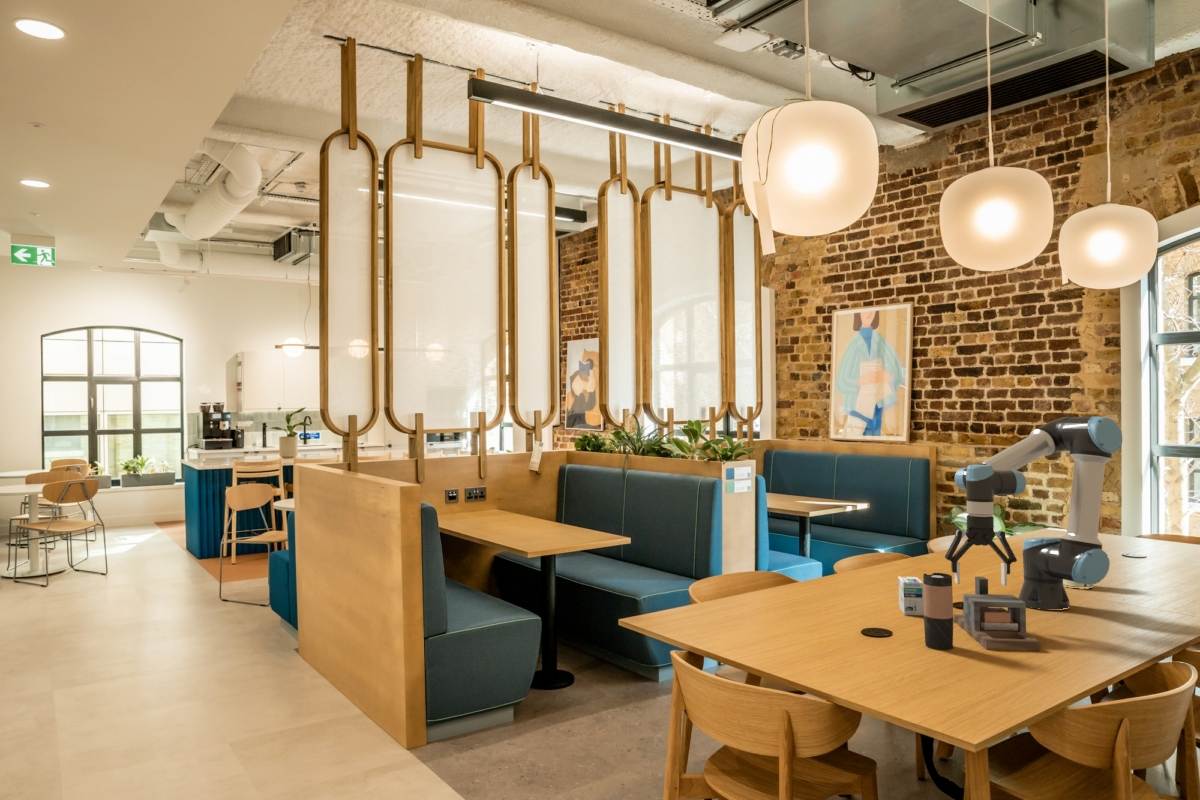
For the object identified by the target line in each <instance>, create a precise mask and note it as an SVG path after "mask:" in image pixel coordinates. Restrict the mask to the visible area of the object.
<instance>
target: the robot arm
mask: <svg viewBox="0 0 1200 800" xmlns="http://www.w3.org/2000/svg"><path fill="white" fill-rule="evenodd" d="M1122 444H1123V433H1122V430H1121V428H1120V426H1118V423H1117V422H1116V421H1115V420H1114V419H1112V418H1110V417H1107V416H1098V415H1097V416H1095V415H1093V416H1065V417H1064V416H1063V417H1060V418H1056V419H1054V420H1052V421H1051V420H1050V421H1049V422H1047V423H1044V424H1043V425H1041V426H1039V427H1037V428H1035V429H1033V430H1032V431H1031V432H1030V433H1029V436H1027V437H1025V438H1024V439H1022V440H1020V441H1018V442H1015V443H1014V444H1013V445H1011V446H1009V447H1007V448H1005V449H1003V450H1002V451H1000V452H998V453H996V454H994V455H993V456H990V457H989V458H987V459H986V460H984V461H982V462H979V463H978V464H968V466H966V467H962V468H959V469H958V470H957V471H956V472H955V475H954V483H955V486H956V487H957V488H958V489H959V490H962V491H966V493H965V494H966V513H967V514H968V515H966V530H960V529H956V530H955V534H954V538H953V540H952V542H951V544H950V545H949V547H948V550H947V552H946V553H945V555H944V558H945V560H947V561H949V562H950V563H951V565H950V567H951V569H950V570H951V572H952V573H953V574H954V584H957V585H960V584H961V563H960V562H959V560H960V559H961V558H962V557H963V556H964V555H965V554H966V553H967V551H969V549H970V548H972V546H983V547H986V546H990V548H991V549H992V551H994V553H996V554H997V556H998V557H999V558H1000V559H1001V560H1002V561H1003V562H1000V570H1001V571H1000V577H1001V579H1000V582H1001V583H1000V584H1001V585H1002V586H1004V587H1006V586H1008V575H1010V574H1011V565H1012V563H1016V562H1018V560H1017V557H1016V555H1015V554H1014V551H1013V550H1012V548H1011V546H1010V544H1009V542H1008V540H1007V538H1006V533H1005V532H1004V531H1003V530H998V531H995V530H994V529H995V526H994V521H995V520H994V516H993V515H994V514H995V513H994V497H995V496H1015V495H1020V494H1022V493H1024V491H1025V490H1026V487H1027V479H1026V477H1025V475H1024V474H1023V473H1022V472H1020V471H1018V469H1020V468H1022V467H1025V466H1026V465H1028V464H1030V463H1031V462H1033V461H1035V460H1037V459H1039V458H1040V457H1042V456H1051V455H1052V454H1054V453H1058V452H1069V456H1070V457H1071V458H1072V459H1073V470H1072V471H1073V472H1072V481H1071V487H1070V488H1071V489H1070V490H1071V491H1070V499H1069V507H1068V509H1069V510H1068V518H1067V528H1066V533H1065V534H1064V535H1062V536H1061V537H1058V536H1055V537H1053V536H1050V537H1049V536H1043V537H1042V536H1041V537H1028V538H1025V539H1024V541H1023V543H1022V544H1023V545H1022V546H1023V547H1022V560H1023V563H1022V564H1023V582H1022V585H1021V587H1020V588H1021V589H1020V592H1019V594H1018V598H1019V599H1020V600H1022V601H1024V602H1025V603H1026V606H1027V607H1026V608H1029V607H1032V608H1031V609H1033V608H1040V609H1063V608H1068V607H1069V606H1070V607H1071V604H1070V599H1069V596H1068V594H1067V591H1066V588H1065V587H1064V585H1063V579H1064V580H1069V581H1073V582H1077V583H1081V584H1093V585H1096V584H1098V583H1100V582H1102V580H1104V579H1105V578H1106V576H1107V575H1108V572H1109V570H1110V558H1109V557H1108V554H1107V552H1106V551H1104V550H1103V543H1102V542H1101V541H1100V540H1099V538H1098V536H1099V525H1100V517H1101V509H1102V508H1101V507H1102V499H1103V487H1104V480H1105V479H1104V477H1105V468H1106V465H1107V464H1108V462H1110V461H1112V455H1113V454H1115V453H1117V452H1118V451H1119V449H1121V447H1122ZM965 536H966V537H967V539H966V541H964V543H963V545H962V546H961V547H960V548H958V547H959V544H960V542H961V540H962V539H963V538H964V537H965ZM995 537H996V538H997V539H999V542H1000V544H1001V546H1002V547H1003V549H1004V551H1005V553H1006V554H1007V555H1006V554H1005V553H1004V552H1003V551H1002V550H1001V548H999V547H998V545H997V544H996V542H995V541H994V540H993V539H994V538H995ZM957 549H958V550H957ZM956 550H957V551H956ZM1040 609H1039V610H1040Z"/></svg>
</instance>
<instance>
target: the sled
mask: <svg viewBox="0 0 1200 800" xmlns="http://www.w3.org/2000/svg"><path fill="white" fill-rule="evenodd" d="M974 584H975V585H974V586H975V587H974V588H975V589H974V591H975V593H974V594H989V579H988V578H987V577H985V576H974ZM985 608H990V607H985ZM962 614H963V615H964V608H963V609H962ZM980 629H981V630H1011V631H1018V623H1016V622H1015V621H1013V620H1012V619H1010V623H1004V622H983V621H982V620H980Z"/></svg>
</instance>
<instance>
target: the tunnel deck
mask: <svg viewBox="0 0 1200 800" xmlns="http://www.w3.org/2000/svg"><path fill="white" fill-rule="evenodd" d="M962 595H963V596H962V598H963V599H962V601H963V603H962V604H963V609H964V615H963V613H953V623H954V624H956V623H957V624H958V625H959V626H958V625H957V624H956V625H957V626H958V627H959V628H961V629H962V630H963V629H964V630H965V631H966V632H967V633H966V632H965V631H964V630H963V631H964V632H965V633H966V634H967V635H969V637H971V636H972V637H973V638H974V639H973V638H972V637H971V638H972V639H973V640H974V641H976V642H977V643H978V642H979V643H978V644H979V645H980V644H981V645H980V646H981V647H983V649H985V650H992V649H994V650H996V651H997V650H998V651H999V650H1000V651H1026V650H1040V651H1041V643H1040V640H1038V639H1036V638H1035V637H1034V636H1032V635H1030V634H1029V633H1028V632H1027V614H1026V612H1027V607H1026V603H1025V602H1024V601H1022V600H1020V599H1019V597H1017V596H1016V595H1014V594H994V593H993V594H991V593H990V594H989V593H988V594H975V593H963V594H962ZM980 607H989V608H1007V611H1008V612H1010V619H1012V620H1013V621H1015V622H1016V623H1018V631H1011V630H981V629H980Z"/></svg>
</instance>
